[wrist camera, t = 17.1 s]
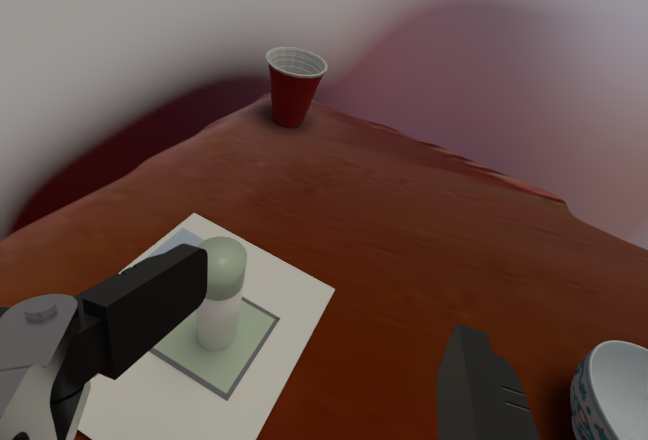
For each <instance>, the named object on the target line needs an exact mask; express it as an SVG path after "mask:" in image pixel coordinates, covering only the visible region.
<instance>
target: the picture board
mask: <svg viewBox="0 0 648 440" xmlns="http://www.w3.org/2000/svg"><path fill="white" fill-rule="evenodd" d="M219 236H223V237H229V238H233V239H235V240H237V241H238V242H240V243H241V244H242V245H243V246H244V248H245V249H246V252H247V262H246V270H245V277H244V285H243V292H242V299H241V307H240V314H239V321H238V329H237V335H236V338H235V340H234V342H233V343H232V344H231V345H230V346H229V347H228V348H226V349H224V350H221V351H209V350H207V349H205V348H203V347H202V346H201V344H200V343H199V341H198V337H197V319H196V310H195V311H194V312H193V313H192V314H191V315H189V316H188V317H187V318H186V319H185V320H184V321H183V322H181V323H180V324H179V325H178V326H177V327H176V328H175V329H173V330H172V331H171V332H170V333H169V334H168V335H167V336H165V337H164V338H163V339H162V340H161V341H160V342H159V343H157V344H156V345H155V346H154V347H153V348H152V349H151V350H149V351H148V352H147V353H146V354H145V355H144V356H143V357H141V358H140V359H139V360H138V361H137V362H136V363H134V364H133V365H132V366H131V367H130V368H129V369H128V370H126V371H125V372H124V373H123V374H122V375H121V376H120V377H118V378H117V379H116V380H113V379H110V378H108V377H106V376H103V375H101V374H99V373H98V374H97V375H96V376H94V377H93V378H92V379H91V380H90V383H91V388H90V392H89V395H88V398H87V401H86V404H85V407H84V411H83V414H82V417H81V420H80V423H79V426H78V430H79V431H80V432H82V433H83V434H85V435H86V436H88V437H89V438H90V439H92V440H256V439H257V437H258V435H259V433H260V431H261V429H262V427H263V425H264V423H265V422H266V420H267V418H268V416H269V414H270V412H271V410H272V408H273V406H274V405H275V403H276V401H277V399H278V397H279V395H280V393H281V391H282V389H283V387H284V386H285V384H286V382H287V380H288V378H289V376H290V374H291V372H292V370H293V369H294V367H295V365H296V363H297V361H298V359H299V357H300V355H301V353H302V352H303V350H304V348H305V346H306V344H307V342H308V340H309V338H310V336H311V334H312V333H313V331H314V329H315V327H316V325H317V323H318V321H319V319H320V317H321V316H322V314H323V312H324V310H325V308H326V306H327V304H328V302H329V300H330V299H331V297H332V295H333V293H334V291H335V289H334V288H332V287H330V286H328V285H326V284H324V283H323V282H321V281H319V280H317V279H315V278H313V277H312V276H310V275H308V274H306V273H304V272H302V271H301V270H299V269H297V268H295V267H293V266H291V265H290V264H288V263H286V262H284V261H282V260H280V259H278V258H277V257H275V256H273V255H271V254H269V253H267V252H266V251H264V250H262V249H260V248H258V247H256V246H255V245H253V244H251V243H249V242H247V241H245V240H244V239H242V238H240V237H238V236H236V235H234V234H232V233H231V232H229V231H227V230H225V229H223V228H221V227H220V226H218V225H216V224H214V223H212V222H210V221H209V220H207V219H205V218H203V217H201V216H199V215H198V214H196V213H193V214H192V215H191V216H190V217H188V218H187V219H186V220H185V221H183V222H182V223H181V224H180V225H178V226H177V227H176V228H175V229H173V230H172V231H171V232H170V233H168V234H167V235H166V236H165V237H163V238H162V239H161V240H160V241H158V242H157V243H156V244H155V245H153V246H152V247H151V248H150V249H148V250H147V251H146V252H144V253H143V254H142V255H141V256H139V257H138V258H137V259H136V260H134V261H133V262H132V263H131V264H129V265H128V266H127V267H126V268H124V269H123V270H122V271H124V270H125V269H127V268H129V267H133V265H135V264H137V263H139V262H140V261H142V260H144V259H146V258H149V257H152V256H156V255H159V254H163V253H165V252H167V251H169V250H171V249H173V248H174V247H176V246H178V245H180V244H183V243H185V244H189V245H192V246H195V247H197V246H198V245H199V244H200V243H202V242H203V241H205V240H207V239H209V238H212V237H219ZM122 271H121V272H122ZM121 272H119V274H121Z"/></svg>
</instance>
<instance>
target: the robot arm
mask: <svg viewBox="0 0 648 440" xmlns="http://www.w3.org/2000/svg"><path fill="white" fill-rule="evenodd" d="M207 279H208V254H207V251H206V250H205V249H202V248H199V247H195V246H192V245H189V244H185V243H183V244H180V245H178V246H176V247H174V248H173V249H171V250H169V251H167V252H165V253H163V254H159V255H156V256H152V257H149V258H146V259H144V260H142V261H140V262H139V263H137V264H135V265H133V267H129V268H127V269H125V270H124V271H122V272H121V274H119V273H118V274H116V275H114V276H112V277H110V278H109V279H107V280H105V281H103V282H101V283H99V284H97V285H95V286H94V287H92V288H90V289H88V290H86V291H84V292H82V293H80V294H79V295H77V296H75V297H72V296H69V295H64V294H49V295H42V296H38V297H34V298H31V299H28V300H25V301H23V302H20V303H18V304H16V305H14V306H13V307H11V308H7V307H0V440H74V438H75V435H76V432H77V429H78V426H79V423H80V420H81V417H82V414H83V411H84V407H85V404H86V401H87V398H88V395H89V392H90V388H91V383H90V380H91V379H92V378H93V377H94V376H96V375H97V374H98V373H99V374H101V375H103V376H106V377H108V378H110V379H113V380H116V379H117V378H118V377H120V376H121V375H122V374H123V373H124V372H125V371H126V370H128V369H129V368H130V367H131V366H132V365H133V364H134V363H136V362H137V361H138V360H139V359H140V358H141V357H143V356H144V355H145V354H146V353H147V352H148V351H149V350H151V349H152V348H153V347H154V346H155V345H156V344H157V343H159V342H160V341H161V340H162V339H163V338H164V337H165V336H167V335H168V334H169V333H170V332H171V331H172V330H173V329H175V328H176V327H177V326H178V325H179V324H180V323H181V322H183V321H184V320H185V319H186V318H187V317H188V316H189V315H191V314H192V313H193V312H194V311H195V310H196V309H197V308H199V307H200V305H201V304H202V303H203V301H204V299H205V297H206V294H207ZM437 412H438V437H439V440H540V437H539V434H538V431H537V428H536V425H535V423H534V420H533V417H532V414H531V412H529V405H528V403H527V400H526V397H525V396H524V391H523V388H522V385H521V382H520V380H519V377H518V374H517V373H516V372H515V371H514V369H513V368H512V367H511V366H510V364H509V363H508V362H507V360H506V359H505V358H504V357H501V356H498V355H495V354H492V350H491V347H490V343H489V339H488V336H487V333H486V332H484V331H480V330H477V329H473V328H470V327H466V326H463V325H460V324H456V325H455V327H454V329H453V331H452V334H451V337H450V340H449V342H448V345H447V348H446V351H445V353H444V356H443V359H442V362H441V364H440V368H439V372H438V377H437Z"/></svg>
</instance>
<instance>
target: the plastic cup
mask: <svg viewBox="0 0 648 440" xmlns="http://www.w3.org/2000/svg"><path fill="white" fill-rule="evenodd" d="M266 59H267V62H268V64H269V69H270V77H271V99H272V115H273V119H274V121H275V122H276V123H277V124H279V125H281V126H284V127H288V128H295V127H299V126H300V125H301V123H302V122H303V119H304V117H305V114H306V112H307V111H308V108H309V106H310V103H311V101H312V98H313V95H314V93H315V91H316V88H317V86H318V84H319V82H320V80H321V78H322V76H323V74H324V73H326V71H327V66H328V65H327V64H326V62H325V61H324V59H322V58H321V57H319V56H318V55H316V54H314V53H312V52H309V51H306V50H303V49H299V48H292V47H279V48H274V49H272V50H269V51H268V52H267V54H266Z"/></svg>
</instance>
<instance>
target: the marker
mask: <svg viewBox="0 0 648 440" xmlns="http://www.w3.org/2000/svg"><path fill="white" fill-rule="evenodd" d="M197 247H199V248H202V249H205V250H206V251H207V254H208V279H207V294H206V297H205V299H204V301H203V303H202V304H201V305H200V307H199V308H197V309H196V319H197V337H198V341H199V343H200V344H201V346H202V347H203V348H205V349H207V350H209V351H221V350H224V349H226V348H228V347H229V346H230V345H231V344H232V343H233V342H234V340H235V338H236V335H237V329H238V321H239V314H240V307H241V299H242V292H243V285H244V277H245V270H246V262H247V252H246V249H245V248H244V246H243V245H242V244H241V243H240V242H238V241H237V240H235V239H233V238H229V237H223V236H219V237H212V238H209V239H207V240H205V241H203V242H202V243H200V244H199V245H198V246H197Z"/></svg>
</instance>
